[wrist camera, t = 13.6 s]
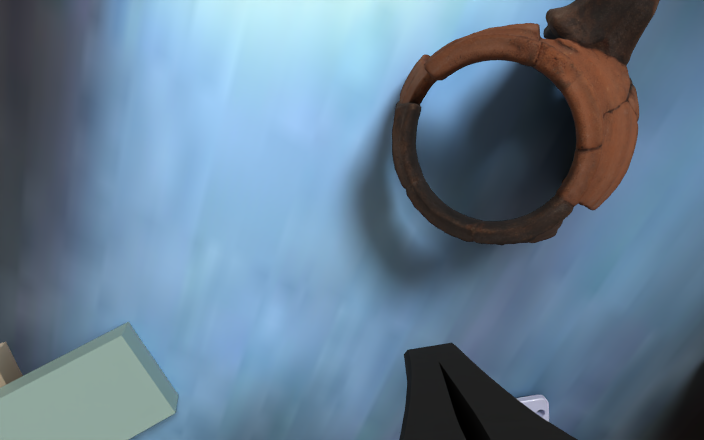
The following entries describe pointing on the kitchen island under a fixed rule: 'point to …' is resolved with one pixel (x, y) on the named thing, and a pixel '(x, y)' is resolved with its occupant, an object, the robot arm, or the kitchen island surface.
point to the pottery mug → (576, 86)
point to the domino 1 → (8, 366)
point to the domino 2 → (89, 393)
